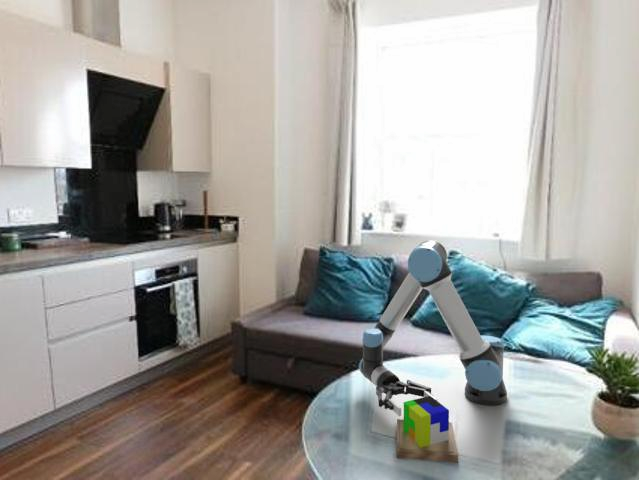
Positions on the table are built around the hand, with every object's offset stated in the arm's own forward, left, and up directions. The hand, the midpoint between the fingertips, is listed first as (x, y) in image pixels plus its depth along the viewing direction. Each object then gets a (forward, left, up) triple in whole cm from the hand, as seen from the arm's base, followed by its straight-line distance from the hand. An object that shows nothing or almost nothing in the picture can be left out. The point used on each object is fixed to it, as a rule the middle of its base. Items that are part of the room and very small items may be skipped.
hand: (418, 407), depth 154 cm
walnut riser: (-2, +3, -10) cm, 11 cm away
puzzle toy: (-2, +3, -8) cm, 9 cm away
